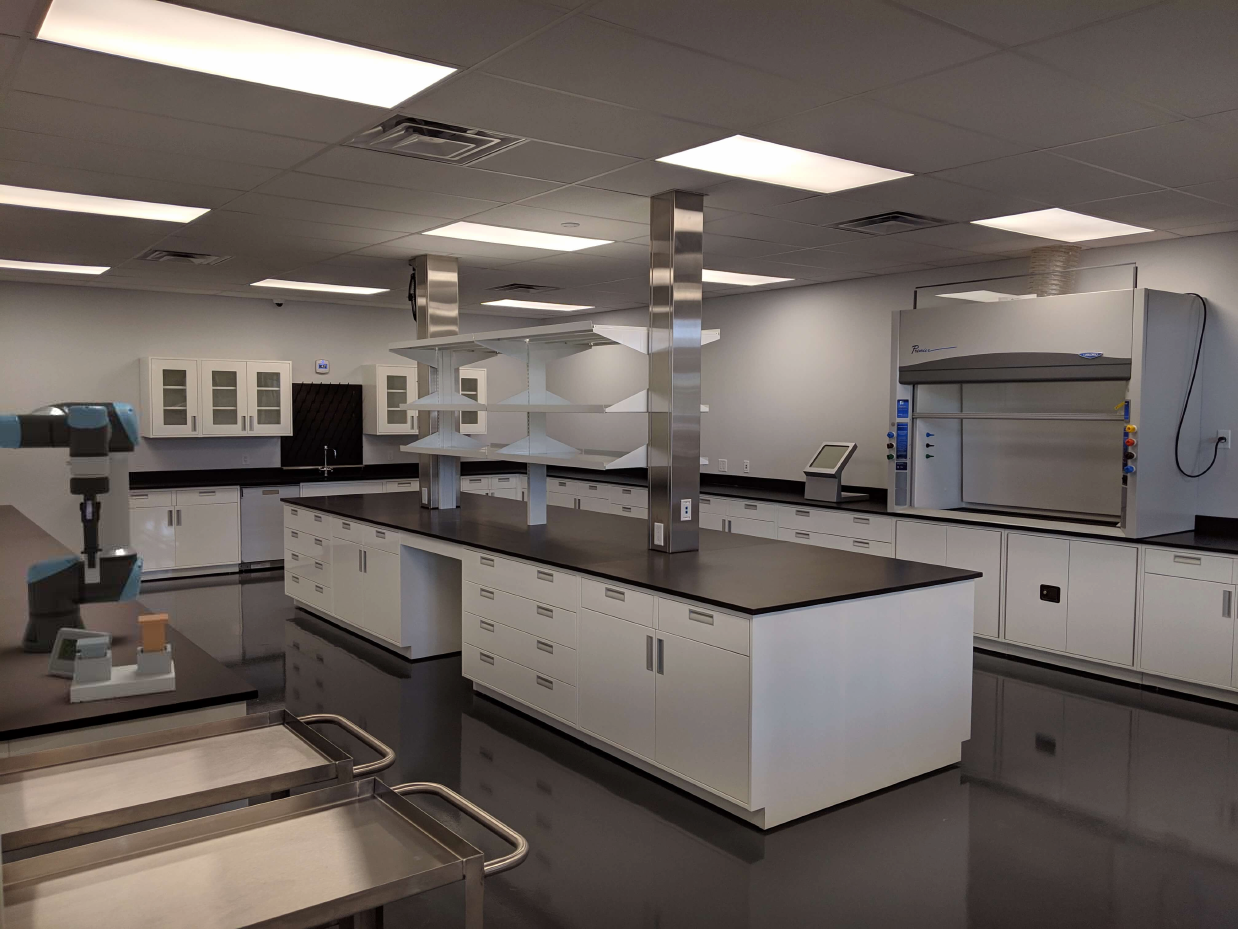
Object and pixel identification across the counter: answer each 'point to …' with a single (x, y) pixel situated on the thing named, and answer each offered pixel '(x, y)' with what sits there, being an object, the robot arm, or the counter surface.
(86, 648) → the grey plunger
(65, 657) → the digital clock
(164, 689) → the button console
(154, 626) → the orange plunger
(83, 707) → the counter surface
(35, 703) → the counter surface
